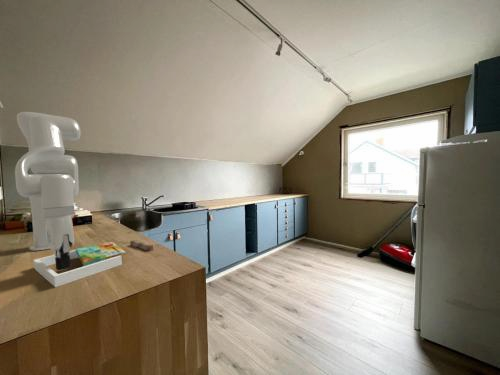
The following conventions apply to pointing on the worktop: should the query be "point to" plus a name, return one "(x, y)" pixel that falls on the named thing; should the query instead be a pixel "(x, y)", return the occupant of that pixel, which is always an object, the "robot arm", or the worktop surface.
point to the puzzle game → (99, 253)
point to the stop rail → (141, 245)
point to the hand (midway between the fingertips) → (63, 268)
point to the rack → (75, 274)
